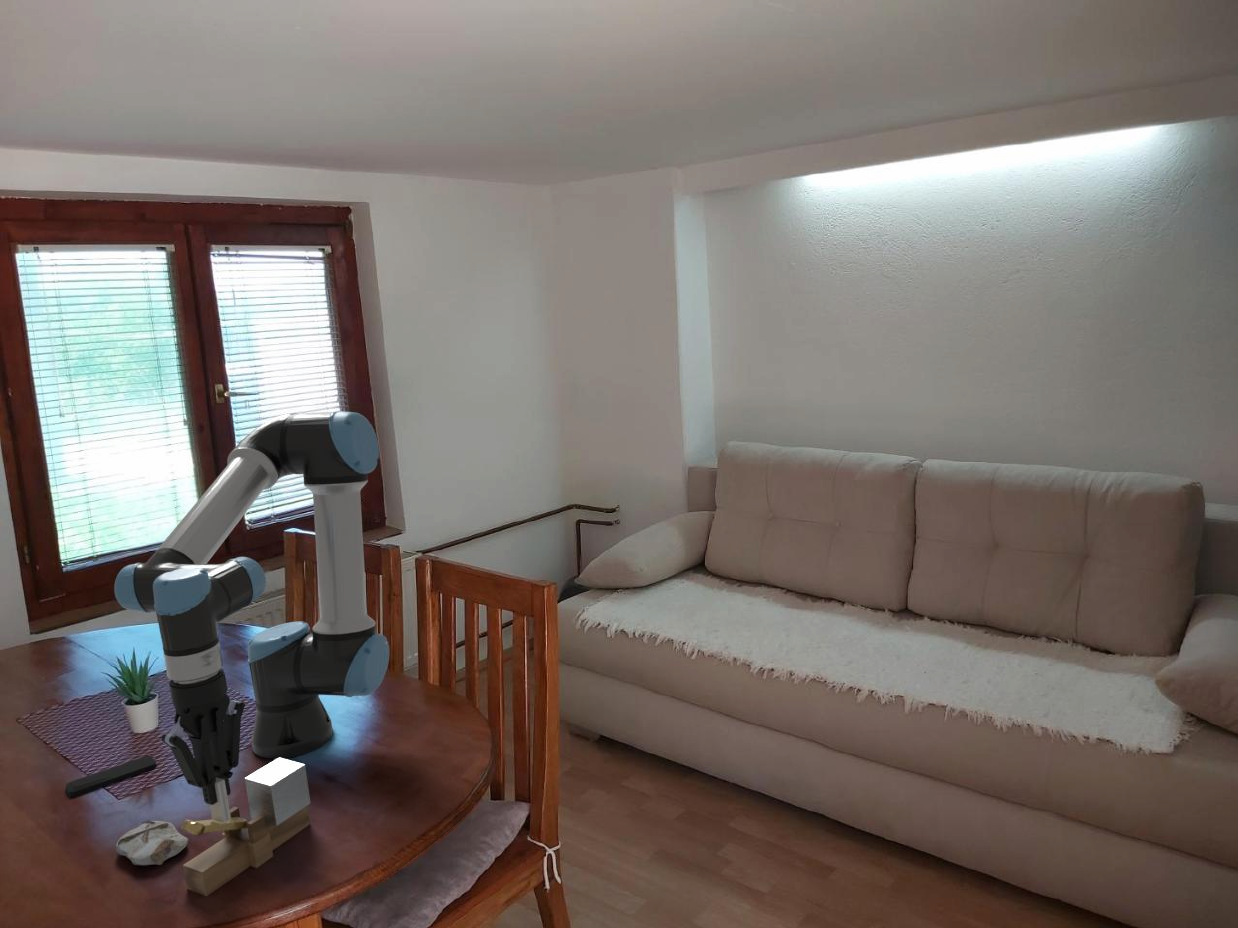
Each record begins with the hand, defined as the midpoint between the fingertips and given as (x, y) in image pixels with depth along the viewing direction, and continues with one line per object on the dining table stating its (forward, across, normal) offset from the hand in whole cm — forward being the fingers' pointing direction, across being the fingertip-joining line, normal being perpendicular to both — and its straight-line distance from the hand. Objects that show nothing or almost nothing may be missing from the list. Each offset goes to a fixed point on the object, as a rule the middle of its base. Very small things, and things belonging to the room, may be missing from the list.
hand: (221, 818), depth 140 cm
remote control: (+9, +10, +46) cm, 48 cm away
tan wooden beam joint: (+9, +5, 0) cm, 10 cm away
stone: (+9, -1, +17) cm, 20 cm away
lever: (+3, +4, 0) cm, 5 cm away
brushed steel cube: (+5, +11, 0) cm, 12 cm away
